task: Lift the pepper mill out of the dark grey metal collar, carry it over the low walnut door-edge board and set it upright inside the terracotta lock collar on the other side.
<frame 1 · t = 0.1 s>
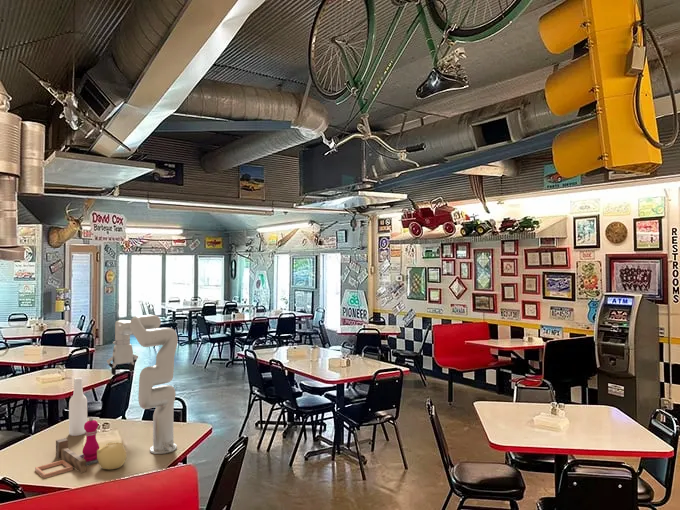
hand: (122, 373, 278), 31 cm above the table, tool pointing down, fingers open, 9 cm apart
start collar: (91, 459, 235), on the table
pale yellow round fruit: (112, 467, 227), on the table
lock collar: (53, 470, 223), on the table
door edge board: (73, 464, 229), on the table
alcohol: (78, 433, 272), on the table
pepper mill: (91, 460, 235), resting in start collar
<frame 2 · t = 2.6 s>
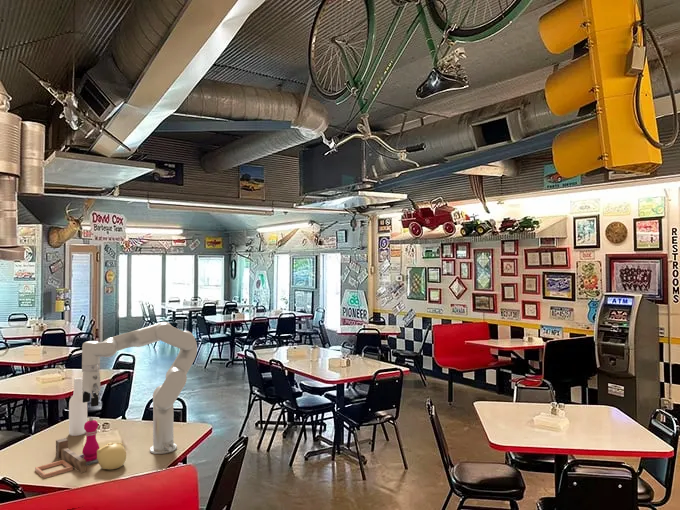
hand: (90, 404, 235), 26 cm above the table, tool pointing down, fingers open, 9 cm apart
nothing on the table moved.
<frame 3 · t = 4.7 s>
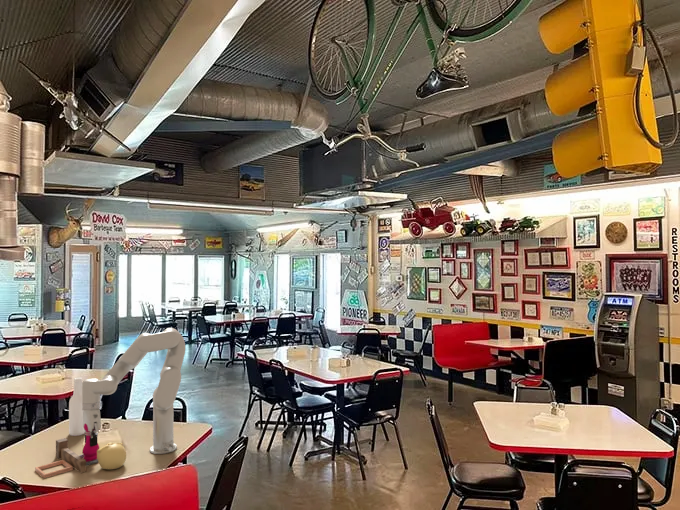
hand: (91, 443, 235), 7 cm above the table, tool pointing down, fingers closed on pepper mill, 5 cm apart
pepper mill: (91, 460, 235), resting in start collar, touching gripper
everything else where it was.
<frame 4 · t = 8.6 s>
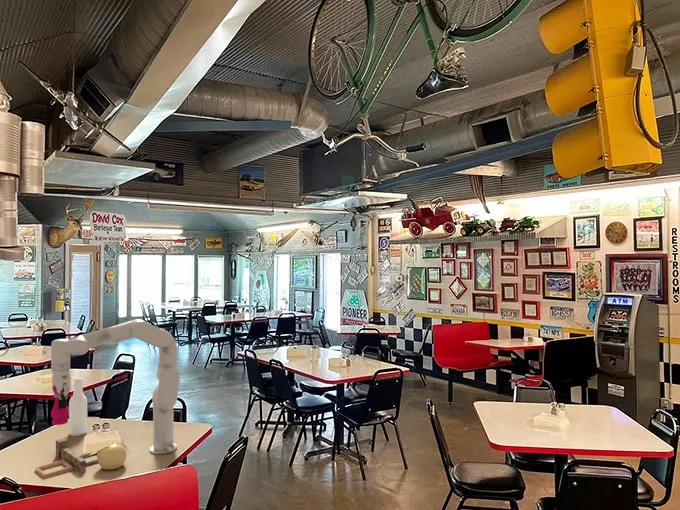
hand: (60, 406, 226), 28 cm above the table, tool pointing down, fingers closed on pepper mill, 5 cm apart
pepper mill: (60, 423, 226), point 20 cm above the table, touching gripper
everything else where it was.
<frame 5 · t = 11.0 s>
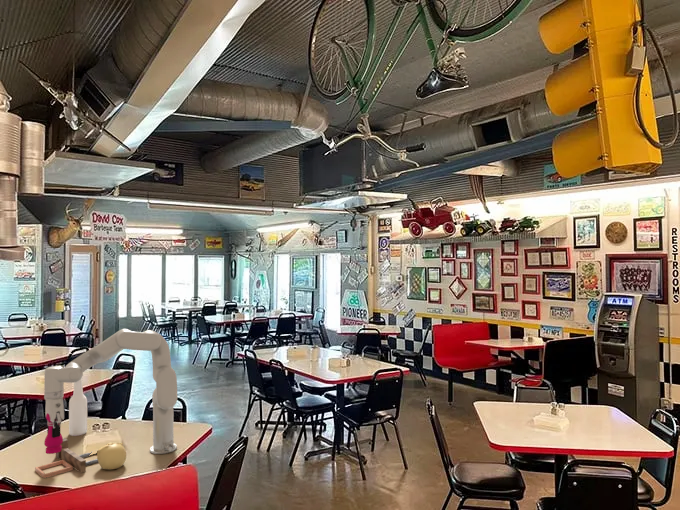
hand: (53, 434, 224), 16 cm above the table, tool pointing down, fingers closed on pepper mill, 5 cm apart
pepper mill: (53, 451, 223), point 8 cm above the table, touching gripper
everything else where it was.
when the fingers open (9 cm above the table, at t = 12.8 s): pepper mill drops 1 cm, resting in lock collar.
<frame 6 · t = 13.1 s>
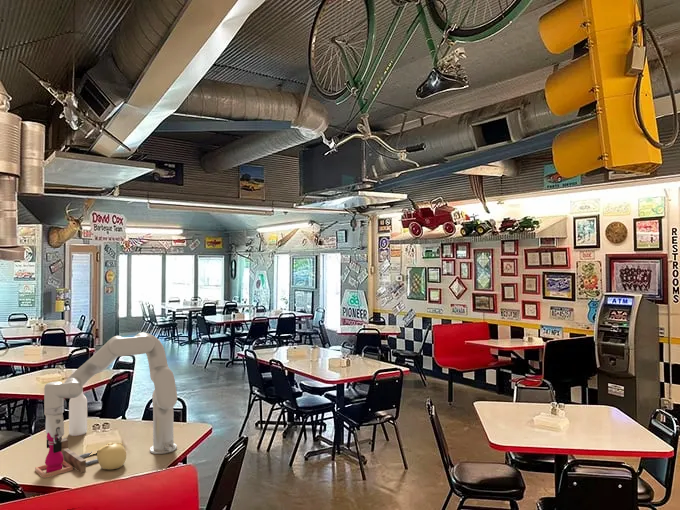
hand: (54, 449, 223), 9 cm above the table, tool pointing down, fingers open, 7 cm apart
pepper mill: (54, 470, 223), resting in lock collar
everything else where it was.
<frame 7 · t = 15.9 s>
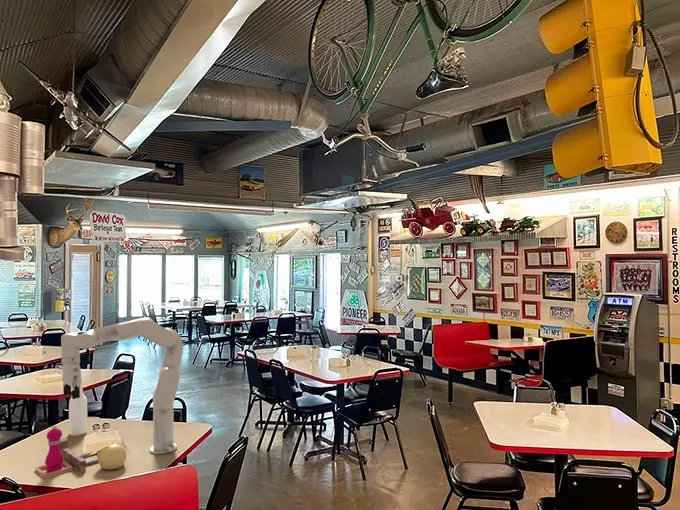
hand: (71, 396, 233), 30 cm above the table, tool pointing down, fingers open, 9 cm apart
nothing on the table moved.
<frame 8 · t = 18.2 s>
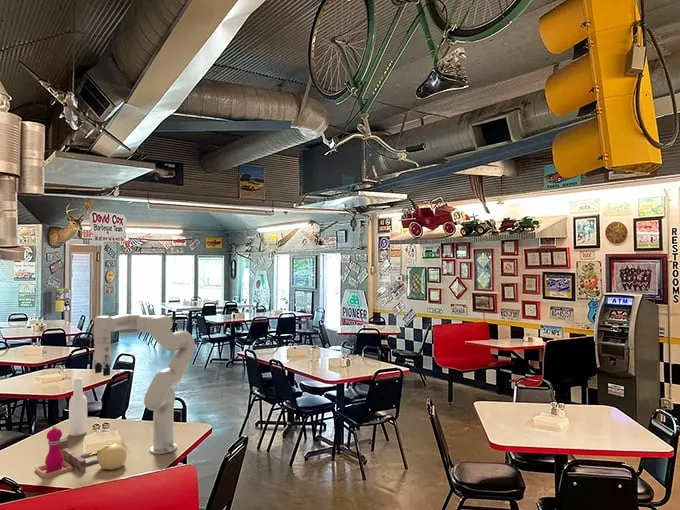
hand: (102, 374, 253), 36 cm above the table, tool pointing down, fingers open, 9 cm apart
nothing on the table moved.
at the end: pepper mill 0.2 cm from the lock collar (horizontally); pepper mill resting in lock collar; pepper mill tilted 0° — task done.
